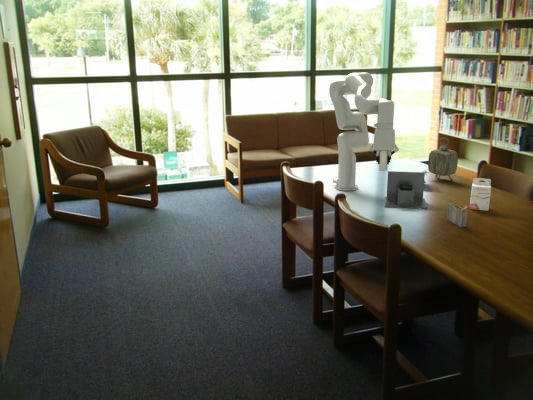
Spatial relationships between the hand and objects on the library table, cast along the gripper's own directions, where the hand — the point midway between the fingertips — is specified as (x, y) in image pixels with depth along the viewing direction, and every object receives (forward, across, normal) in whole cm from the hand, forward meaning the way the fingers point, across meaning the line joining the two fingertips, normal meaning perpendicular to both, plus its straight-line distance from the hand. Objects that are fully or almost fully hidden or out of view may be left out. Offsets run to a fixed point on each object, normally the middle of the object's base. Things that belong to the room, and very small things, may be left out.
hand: (383, 163), depth 262 cm
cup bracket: (+21, +11, +5) cm, 25 cm away
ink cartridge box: (+22, +46, +2) cm, 51 cm away
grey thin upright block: (+22, +34, -21) cm, 45 cm away
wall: (+22, +17, +42) cm, 50 cm away
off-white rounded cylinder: (+3, 0, 0) cm, 3 cm away
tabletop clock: (+21, +33, +57) cm, 69 cm away
